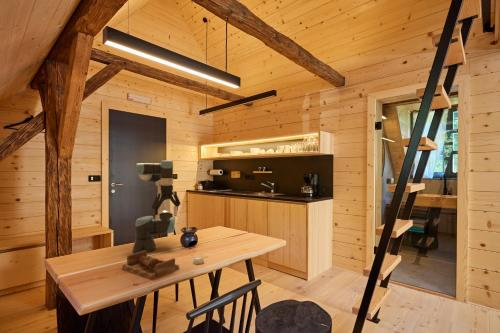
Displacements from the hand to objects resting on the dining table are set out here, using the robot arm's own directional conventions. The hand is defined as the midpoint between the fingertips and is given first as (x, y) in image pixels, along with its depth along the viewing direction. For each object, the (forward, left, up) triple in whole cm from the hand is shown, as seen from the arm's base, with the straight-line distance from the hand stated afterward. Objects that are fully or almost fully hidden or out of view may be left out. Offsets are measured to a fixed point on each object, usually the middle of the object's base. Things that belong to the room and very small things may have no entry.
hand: (166, 218), depth 169 cm
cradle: (+6, -17, -26) cm, 31 cm away
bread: (+7, -16, -26) cm, 32 cm away
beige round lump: (+21, +6, -26) cm, 34 cm away
